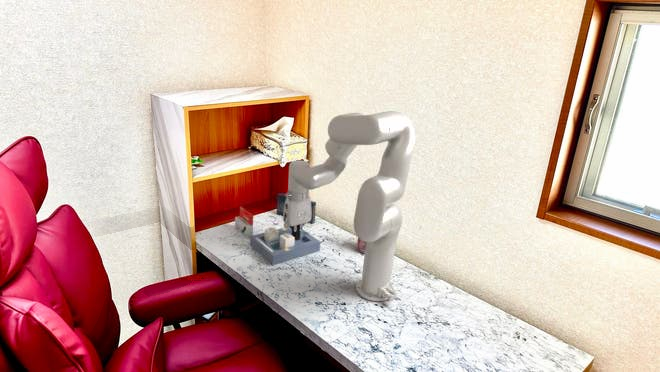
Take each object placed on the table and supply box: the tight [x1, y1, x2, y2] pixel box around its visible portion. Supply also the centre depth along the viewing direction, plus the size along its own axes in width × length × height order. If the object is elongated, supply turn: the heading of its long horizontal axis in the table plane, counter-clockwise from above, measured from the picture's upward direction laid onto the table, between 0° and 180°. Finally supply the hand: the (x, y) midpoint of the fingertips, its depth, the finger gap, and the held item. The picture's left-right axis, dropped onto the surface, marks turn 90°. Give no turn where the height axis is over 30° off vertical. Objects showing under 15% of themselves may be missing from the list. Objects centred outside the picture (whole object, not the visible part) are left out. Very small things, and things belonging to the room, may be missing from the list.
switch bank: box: [249, 227, 321, 266], centre depth 166 cm, size 17×21×4 cm
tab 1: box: [264, 227, 279, 243], centre depth 165 cm, size 4×4×6 cm
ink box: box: [234, 205, 254, 239], centre depth 175 cm, size 2×11×10 cm, turn 40°
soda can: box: [356, 237, 366, 255], centre depth 168 cm, size 7×7×12 cm
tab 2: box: [280, 233, 295, 249], centre depth 162 cm, size 4×4×6 cm
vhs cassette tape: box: [276, 193, 317, 225], centre depth 191 cm, size 18×3×10 cm, turn 64°
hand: (295, 238), depth 164 cm, fingers closed
